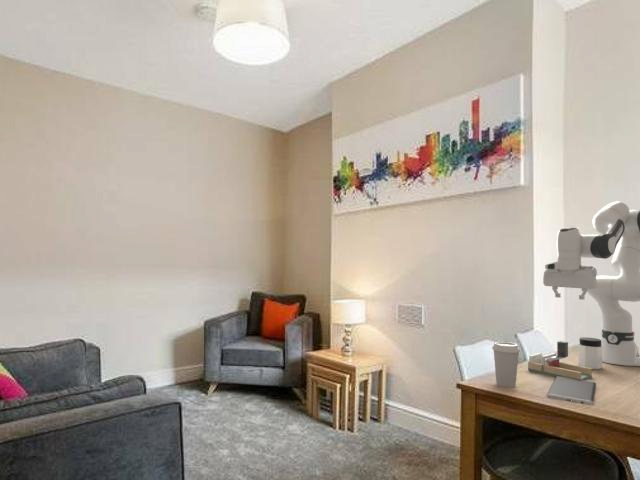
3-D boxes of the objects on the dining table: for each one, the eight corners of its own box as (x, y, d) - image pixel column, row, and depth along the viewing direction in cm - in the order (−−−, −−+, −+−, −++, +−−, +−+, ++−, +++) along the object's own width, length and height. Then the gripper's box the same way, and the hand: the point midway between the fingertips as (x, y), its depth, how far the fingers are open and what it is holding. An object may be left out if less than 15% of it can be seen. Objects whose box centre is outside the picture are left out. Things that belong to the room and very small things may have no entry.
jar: (601, 366, 191) (601, 338, 192) (603, 370, 184) (603, 341, 185) (577, 363, 196) (577, 336, 196) (579, 367, 188) (579, 339, 189)
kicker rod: (560, 365, 186) (560, 341, 187) (567, 366, 184) (567, 342, 184) (544, 370, 177) (544, 345, 177) (551, 372, 175) (551, 346, 175)
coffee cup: (524, 385, 161) (524, 344, 162) (514, 390, 155) (514, 347, 155) (498, 379, 168) (498, 340, 168) (487, 384, 161) (487, 343, 162)
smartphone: (546, 399, 148) (546, 394, 148) (555, 380, 171) (555, 375, 171) (592, 407, 141) (592, 401, 141) (595, 386, 163) (595, 381, 163)
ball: (550, 356, 182) (556, 366, 180) (542, 360, 185) (547, 369, 183) (546, 358, 180) (551, 367, 178) (538, 361, 182) (543, 371, 181)
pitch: (540, 366, 189) (540, 350, 189) (591, 377, 173) (591, 359, 173) (528, 370, 182) (528, 353, 182) (580, 382, 166) (580, 363, 167)
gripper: (599, 266, 178) (600, 300, 178) (548, 264, 194) (548, 295, 194) (593, 266, 174) (594, 301, 174) (541, 265, 190) (541, 296, 190)
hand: (569, 298), depth 184 cm, fingers open, 8 cm apart
